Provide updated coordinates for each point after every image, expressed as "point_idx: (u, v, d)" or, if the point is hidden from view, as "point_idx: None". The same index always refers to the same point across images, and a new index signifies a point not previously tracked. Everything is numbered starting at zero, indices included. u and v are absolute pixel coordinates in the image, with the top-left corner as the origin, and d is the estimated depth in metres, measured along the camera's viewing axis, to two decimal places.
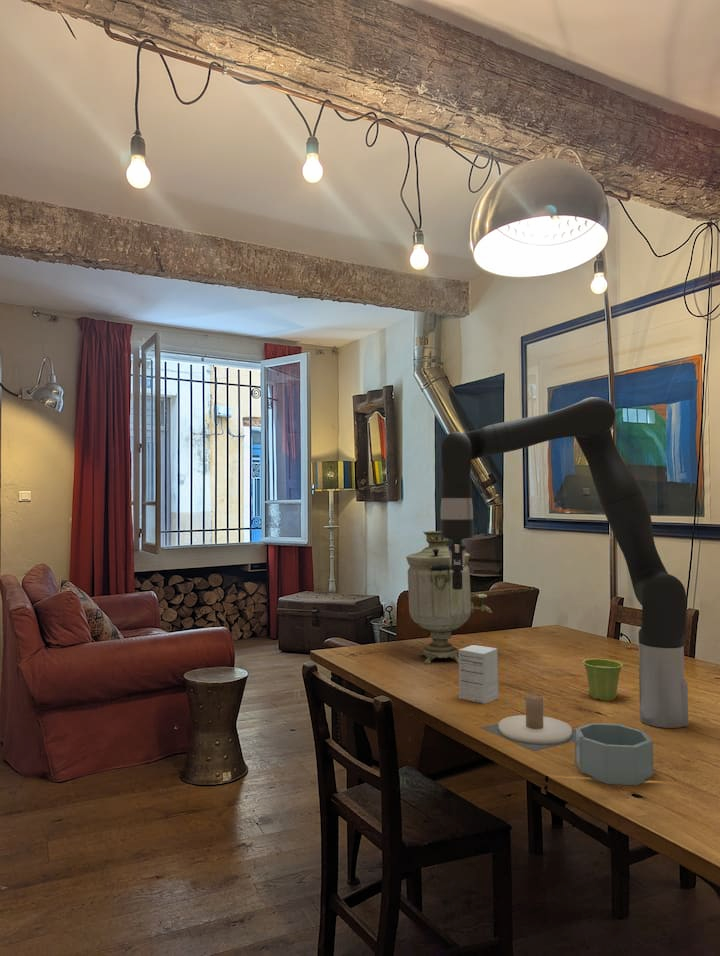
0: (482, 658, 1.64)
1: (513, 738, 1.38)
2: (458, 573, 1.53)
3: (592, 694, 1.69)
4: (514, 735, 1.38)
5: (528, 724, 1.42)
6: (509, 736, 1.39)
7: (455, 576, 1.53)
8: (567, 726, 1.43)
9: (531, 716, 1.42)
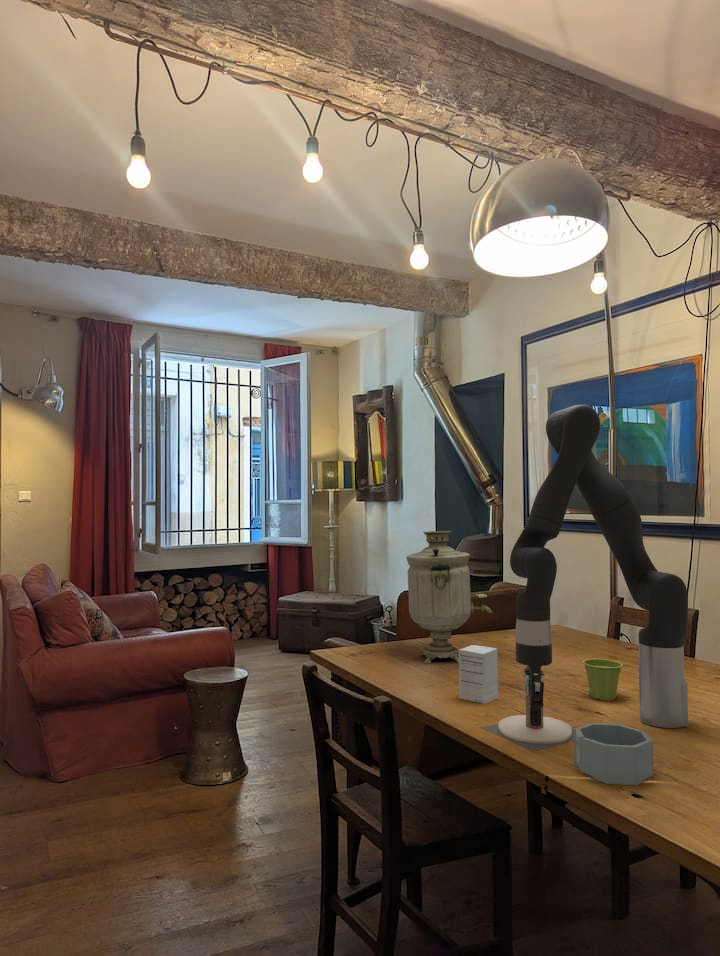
0: (482, 658, 1.64)
1: (513, 738, 1.38)
2: (537, 709, 1.40)
3: (592, 694, 1.69)
4: (514, 735, 1.38)
5: (528, 724, 1.42)
6: (509, 736, 1.39)
7: (534, 712, 1.40)
8: (567, 726, 1.43)
9: None
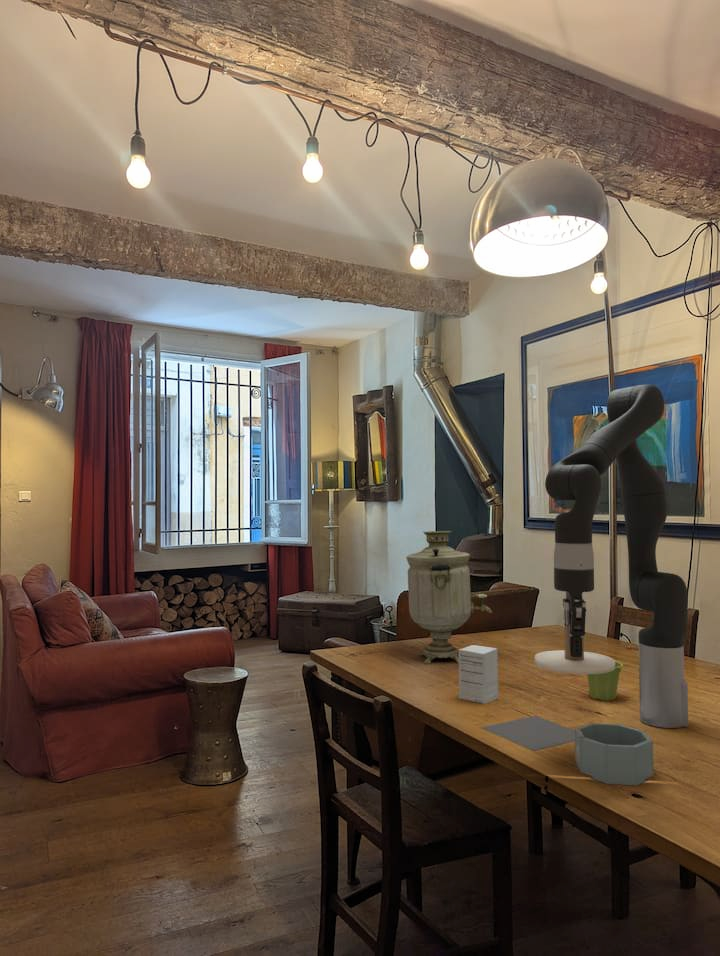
0: (482, 658, 1.64)
1: (551, 668, 1.28)
2: (578, 638, 1.29)
3: (592, 694, 1.69)
4: (552, 665, 1.28)
5: (567, 656, 1.32)
6: (547, 667, 1.29)
7: (574, 642, 1.30)
8: (610, 659, 1.32)
9: None
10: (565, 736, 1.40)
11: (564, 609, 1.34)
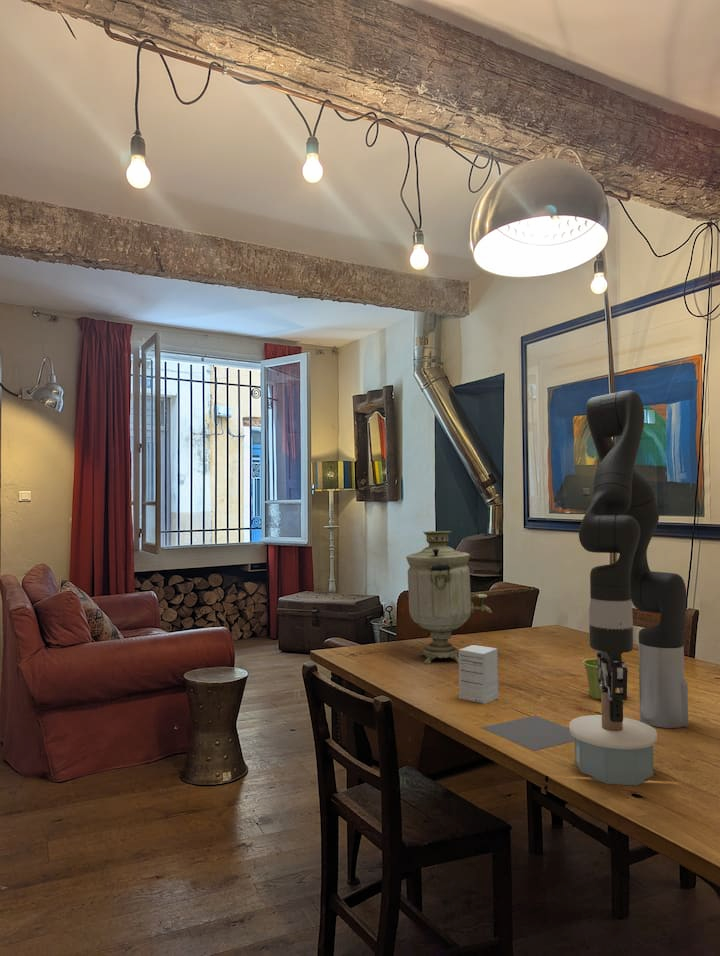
0: (482, 658, 1.64)
1: (590, 742, 1.19)
2: (619, 702, 1.20)
3: (592, 694, 1.69)
4: (591, 738, 1.19)
5: (605, 725, 1.23)
6: (585, 739, 1.20)
7: (615, 706, 1.20)
8: (650, 728, 1.24)
9: None
10: (565, 736, 1.40)
11: (600, 668, 1.26)
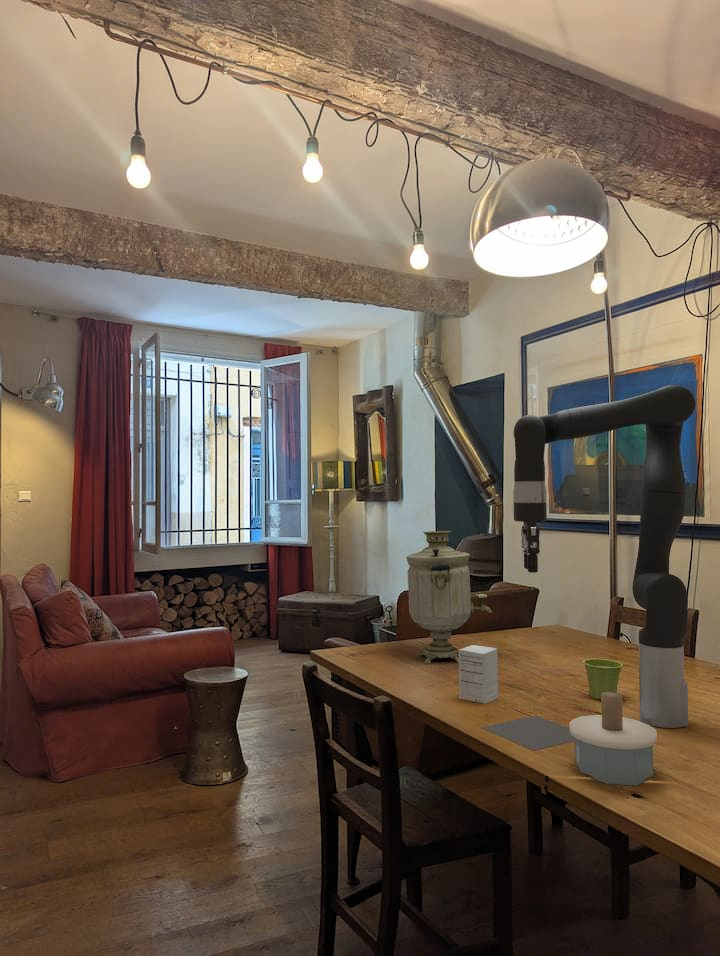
0: (482, 658, 1.64)
1: (590, 742, 1.19)
2: (534, 556, 1.53)
3: (592, 694, 1.69)
4: (591, 738, 1.19)
5: (605, 725, 1.23)
6: (585, 739, 1.20)
7: (531, 559, 1.53)
8: (650, 728, 1.24)
9: (609, 716, 1.23)
10: (565, 736, 1.40)
11: (522, 537, 1.60)
